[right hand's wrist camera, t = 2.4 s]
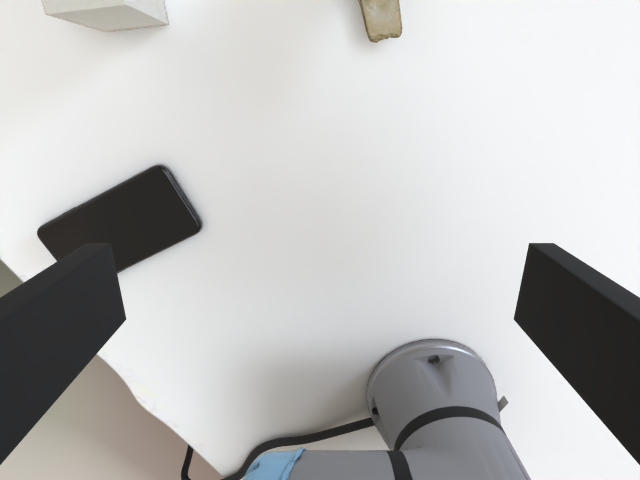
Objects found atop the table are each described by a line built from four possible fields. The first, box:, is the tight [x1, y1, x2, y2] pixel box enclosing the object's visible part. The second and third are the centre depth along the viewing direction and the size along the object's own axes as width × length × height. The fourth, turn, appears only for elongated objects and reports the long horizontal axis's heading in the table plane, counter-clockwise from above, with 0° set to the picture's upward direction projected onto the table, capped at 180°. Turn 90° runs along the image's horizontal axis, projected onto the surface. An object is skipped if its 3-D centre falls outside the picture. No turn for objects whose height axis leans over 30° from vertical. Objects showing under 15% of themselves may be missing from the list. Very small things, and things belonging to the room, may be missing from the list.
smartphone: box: [37, 165, 202, 273], centre depth 40 cm, size 8×1×16 cm
